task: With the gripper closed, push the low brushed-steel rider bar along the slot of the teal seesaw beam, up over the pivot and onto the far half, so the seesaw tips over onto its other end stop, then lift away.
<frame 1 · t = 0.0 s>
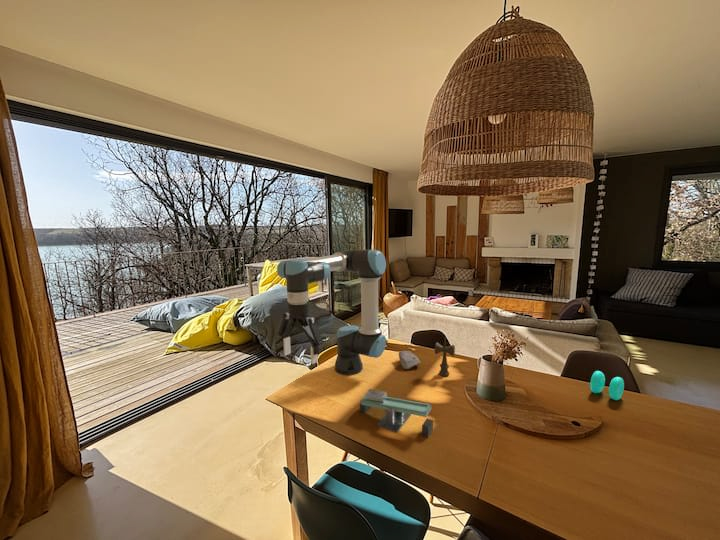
hand: (300, 358, 112), 28 cm above the table, fingers open, 13 cm apart
kendama: (444, 374, 155), on the table
beam: (394, 404, 118), point 7 cm above the table, hinge at 8.7°, touching rider, stand
teal egg pair: (605, 396, 134), on the table
decorative stone: (408, 365, 167), on the table
rider: (377, 400, 122), point 6 cm above the table, tilted 9°, touching beam
stand: (394, 420, 119), on the table
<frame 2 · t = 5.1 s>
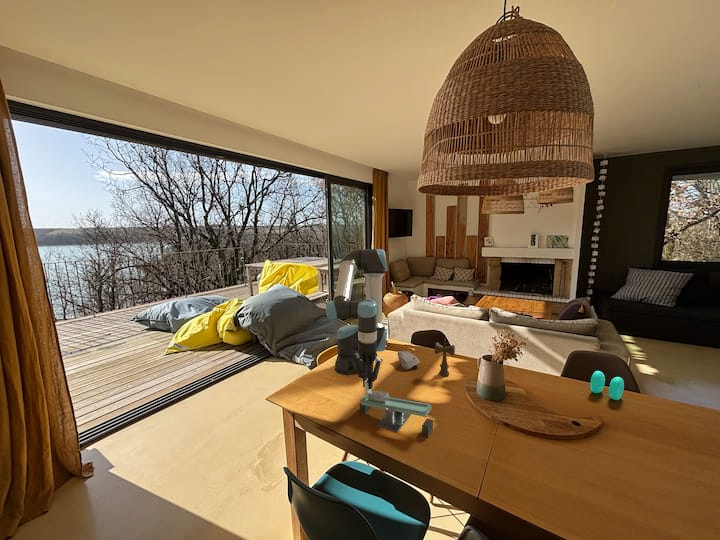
hand: (367, 395, 124), 7 cm above the table, fingers closed
rider: (379, 401, 122), point 6 cm above the table, tilted 9°, touching beam, gripper
everything else where it was.
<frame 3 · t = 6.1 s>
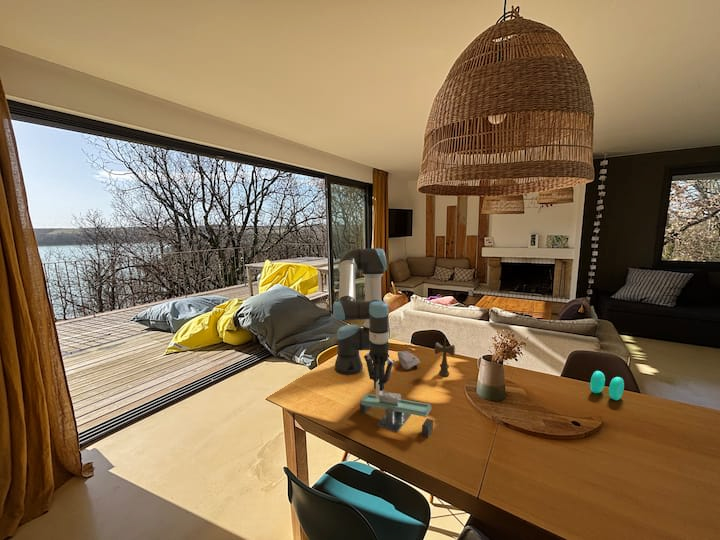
hand: (379, 396, 122), 8 cm above the table, fingers closed
rider: (390, 403, 119), point 7 cm above the table, tilted 9°, touching beam
everything else where it was.
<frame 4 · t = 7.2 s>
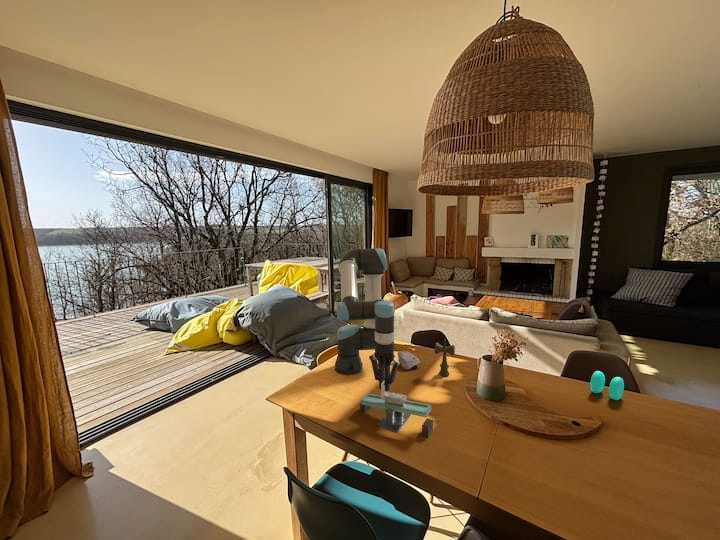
hand: (384, 397, 120), 8 cm above the table, fingers closed
beam: (394, 404, 118), point 7 cm above the table, hinge at 8.1°, touching rider
rider: (396, 404, 118), point 7 cm above the table, tilted 8°, touching beam, gripper
everything else where it was.
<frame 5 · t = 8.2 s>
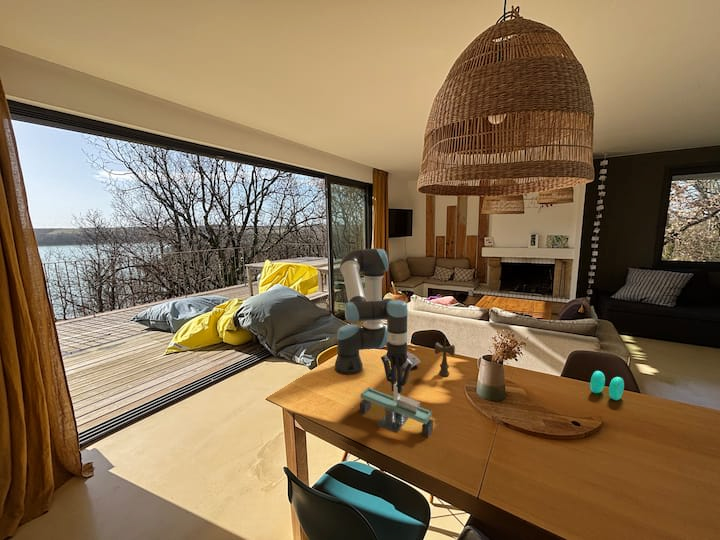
hand: (396, 399, 117), 9 cm above the table, fingers closed
beam: (394, 404, 118), point 7 cm above the table, hinge at -3.2°, touching rider
rider: (407, 409, 115), point 7 cm above the table, touching beam, gripper
everything else where it was.
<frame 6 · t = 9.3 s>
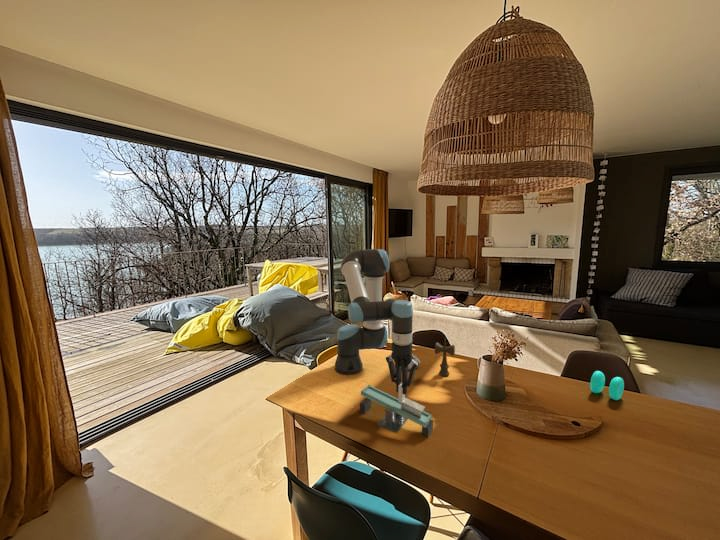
hand: (401, 400, 116), 9 cm above the table, fingers closed
beam: (394, 404, 118), point 7 cm above the table, hinge at -8.7°, touching rider, stand
rider: (412, 412, 114), point 6 cm above the table, tilted 9°, touching beam
everything else where it was.
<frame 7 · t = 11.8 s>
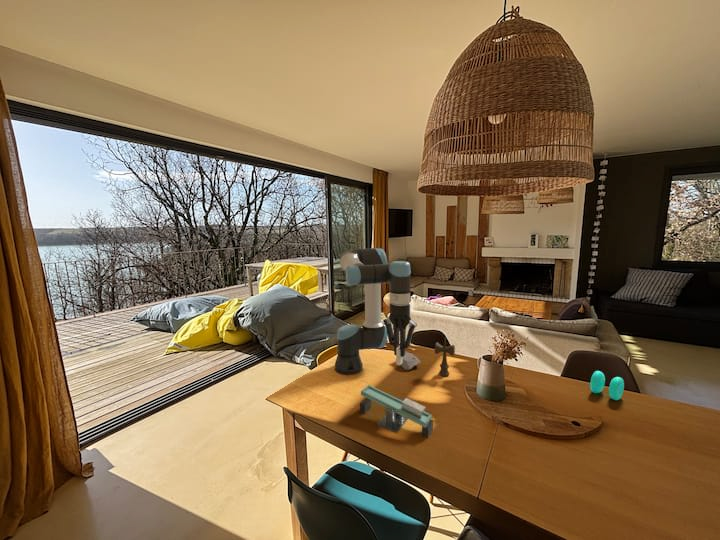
hand: (399, 363, 115), 24 cm above the table, fingers closed
nothing on the table moved.
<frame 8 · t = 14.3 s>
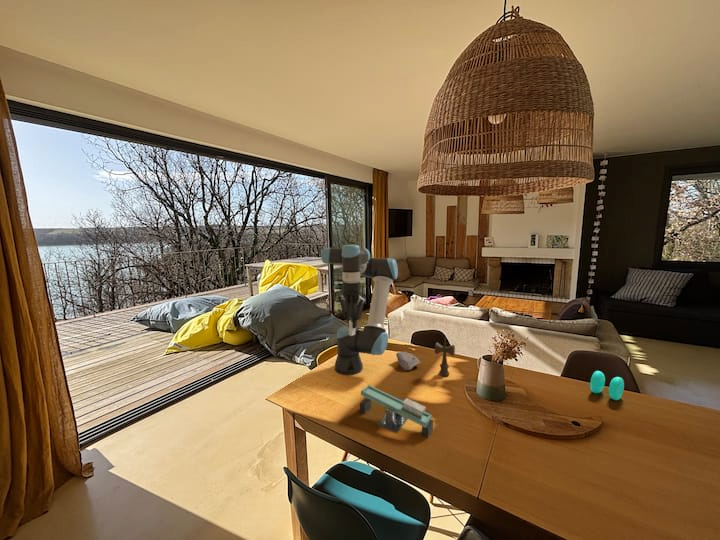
hand: (352, 334, 131), 29 cm above the table, fingers closed
at the end: beam at -9° (first picture: +9°); rider inside the target area on the beam (0.2 cm from its centre), point -0.7 cm above the beam's base; rider tilted 9° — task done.
